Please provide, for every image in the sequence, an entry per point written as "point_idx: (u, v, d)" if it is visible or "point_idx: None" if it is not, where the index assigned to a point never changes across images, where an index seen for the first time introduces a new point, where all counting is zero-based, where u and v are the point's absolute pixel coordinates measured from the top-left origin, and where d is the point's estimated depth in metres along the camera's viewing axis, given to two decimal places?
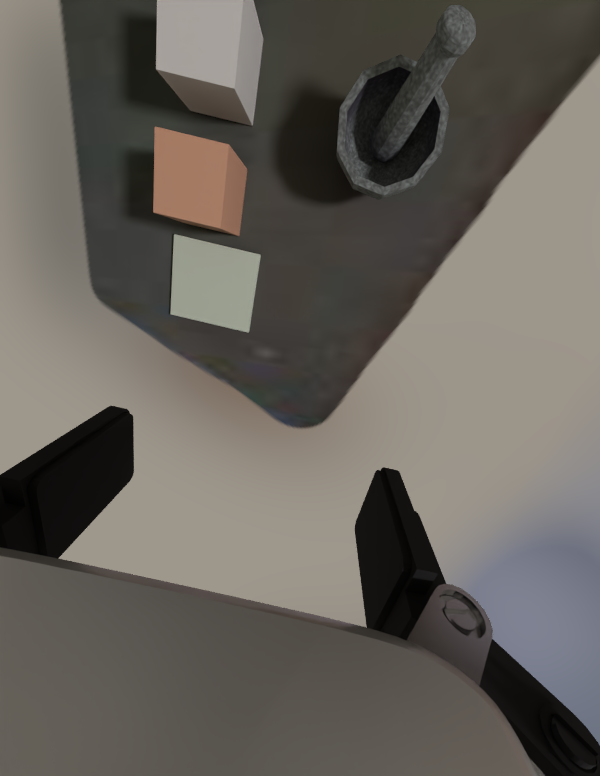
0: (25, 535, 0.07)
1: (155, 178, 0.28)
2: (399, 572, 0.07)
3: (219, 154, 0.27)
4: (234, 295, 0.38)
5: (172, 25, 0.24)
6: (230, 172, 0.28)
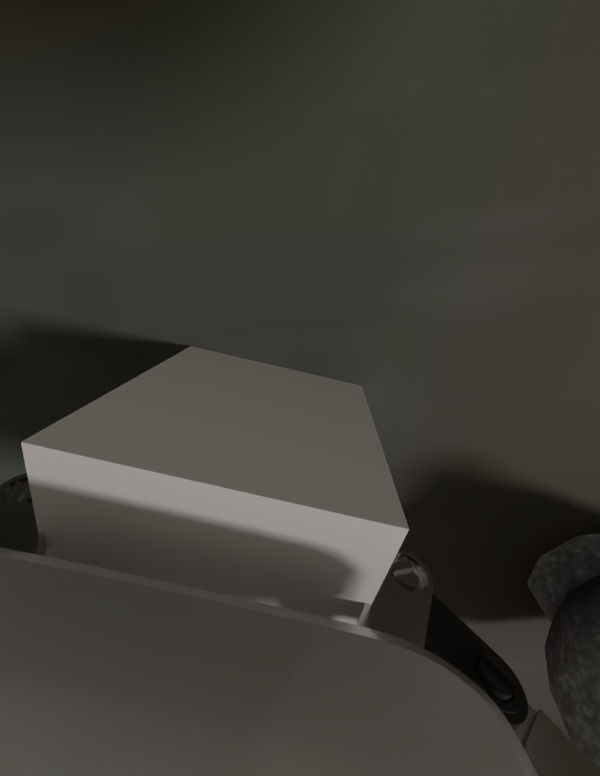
0: None
1: None
2: None
3: None
4: None
5: None
6: None
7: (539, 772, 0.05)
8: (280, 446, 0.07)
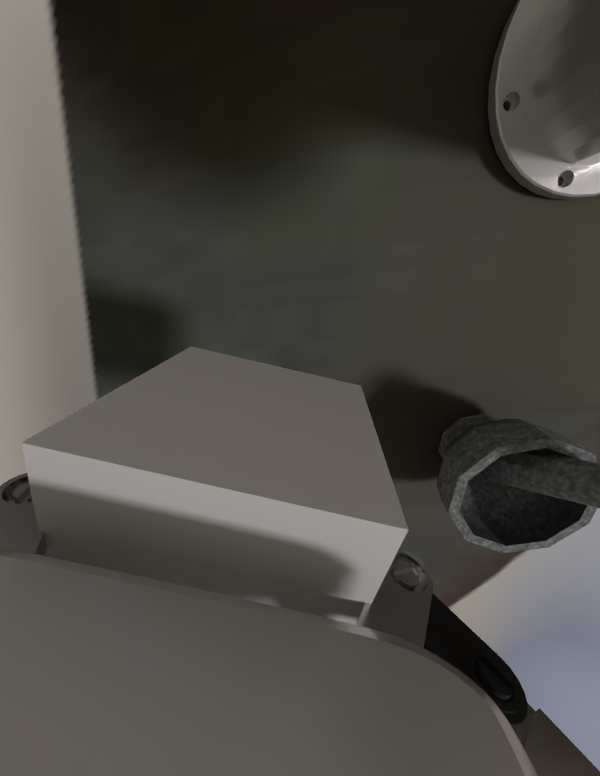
0: None
1: None
2: None
3: None
4: None
5: None
6: None
7: (539, 772, 0.05)
8: (280, 447, 0.07)
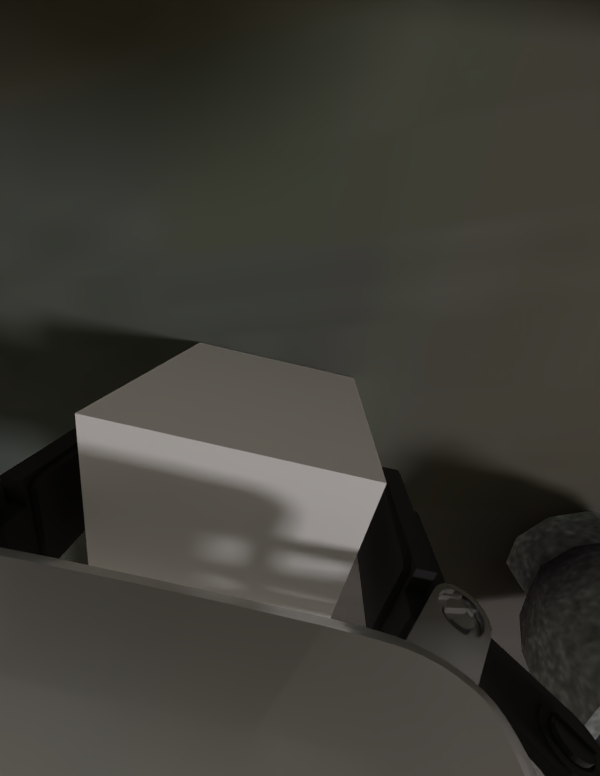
0: (26, 535, 0.07)
1: None
2: (398, 572, 0.07)
3: None
4: None
5: (134, 553, 0.08)
6: None
7: None
8: (282, 422, 0.08)
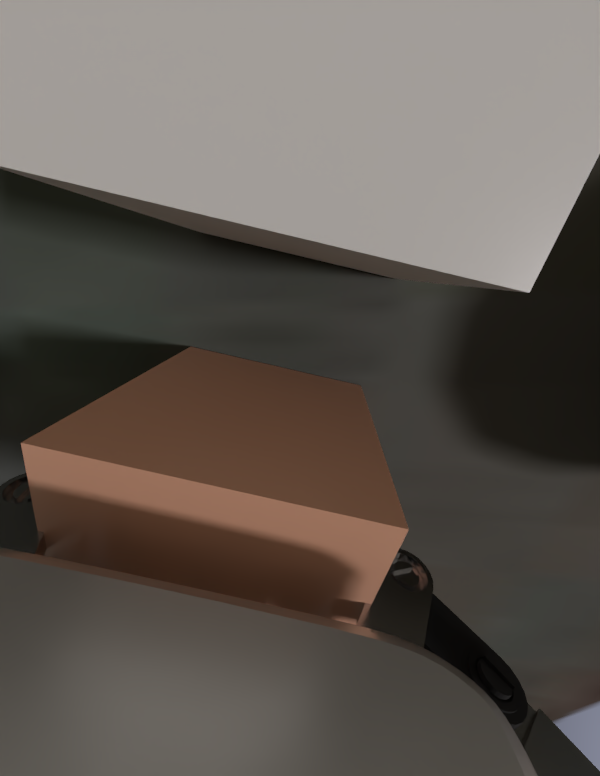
0: None
1: None
2: None
3: (350, 554, 0.05)
4: None
5: None
6: None
7: (539, 772, 0.05)
8: None
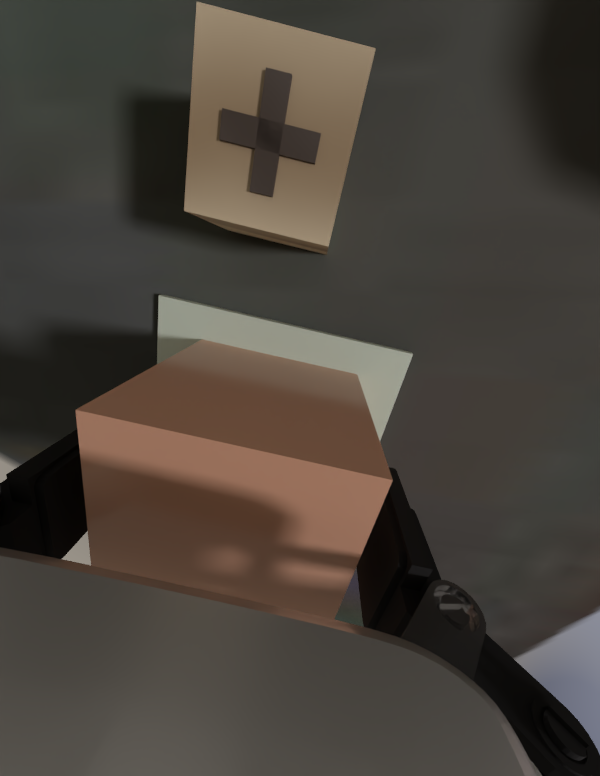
0: (32, 533, 0.07)
1: (94, 543, 0.08)
2: (394, 568, 0.07)
3: (345, 503, 0.07)
4: None
5: None
6: None
7: None
8: None
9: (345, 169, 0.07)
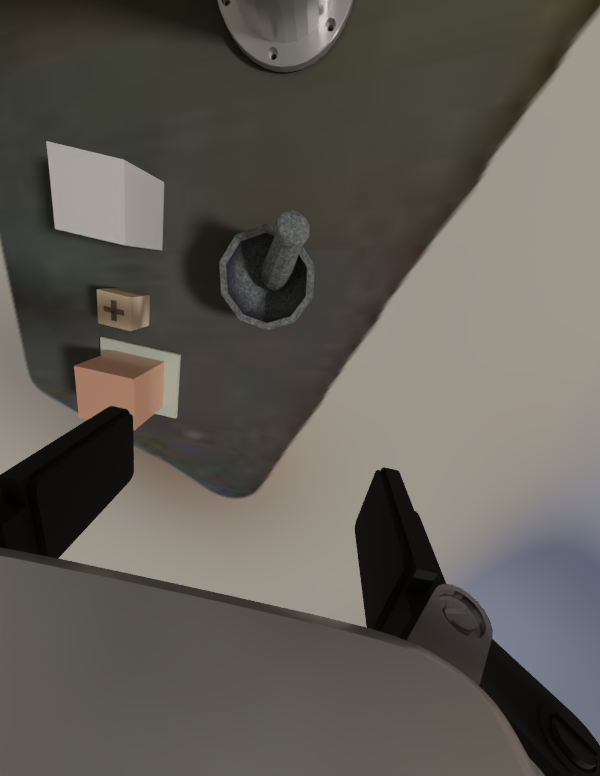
0: (25, 535, 0.07)
1: (78, 397, 0.35)
2: (399, 572, 0.07)
3: (127, 384, 0.34)
4: None
5: (65, 196, 0.27)
6: (139, 389, 0.35)
7: None
8: None
9: (130, 316, 0.34)
